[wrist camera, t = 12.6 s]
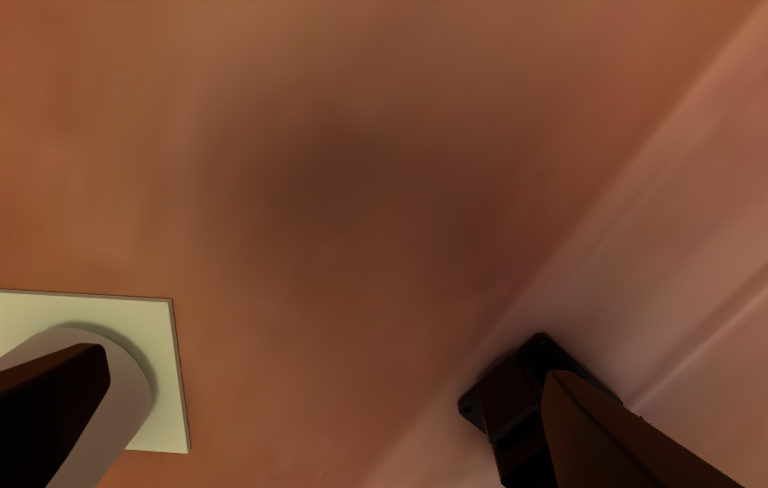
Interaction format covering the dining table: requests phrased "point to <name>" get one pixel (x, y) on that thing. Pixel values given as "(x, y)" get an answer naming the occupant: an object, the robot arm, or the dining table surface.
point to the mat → (125, 327)
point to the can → (114, 414)
